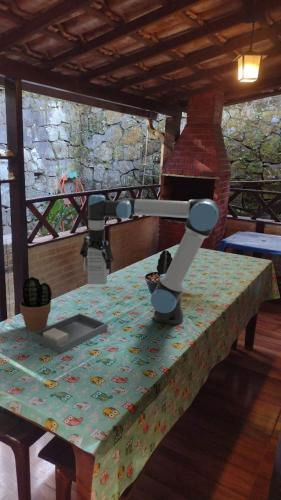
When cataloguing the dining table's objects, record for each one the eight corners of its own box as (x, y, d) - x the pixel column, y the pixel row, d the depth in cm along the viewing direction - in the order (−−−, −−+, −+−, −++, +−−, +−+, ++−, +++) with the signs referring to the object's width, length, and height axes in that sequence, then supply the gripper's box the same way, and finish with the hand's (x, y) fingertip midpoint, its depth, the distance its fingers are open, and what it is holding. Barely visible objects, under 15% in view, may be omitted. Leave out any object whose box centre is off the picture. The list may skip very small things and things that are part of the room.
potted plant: (35, 338, 161) (33, 284, 154) (14, 329, 167) (11, 277, 161) (57, 327, 172) (56, 276, 166) (37, 319, 179) (35, 270, 173)
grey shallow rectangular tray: (107, 331, 169) (107, 323, 168) (61, 355, 147) (61, 346, 146) (79, 320, 180) (79, 312, 179) (32, 341, 157) (32, 333, 156)
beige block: (68, 342, 156) (68, 334, 155) (57, 348, 151) (57, 339, 150) (54, 336, 161) (54, 327, 160) (43, 341, 156) (43, 332, 155)
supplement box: (88, 278, 182) (88, 245, 178) (107, 278, 182) (107, 245, 178) (87, 284, 172) (87, 249, 168) (106, 284, 173) (107, 250, 169)
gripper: (122, 231, 166) (121, 276, 171) (83, 224, 180) (83, 265, 185) (111, 233, 160) (110, 279, 165) (72, 226, 174) (72, 268, 179)
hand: (96, 272), depth 175 cm, fingers closed on supplement box, 13 cm apart
